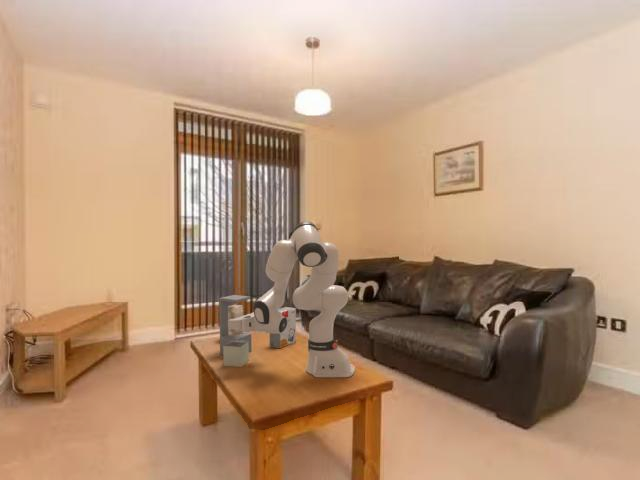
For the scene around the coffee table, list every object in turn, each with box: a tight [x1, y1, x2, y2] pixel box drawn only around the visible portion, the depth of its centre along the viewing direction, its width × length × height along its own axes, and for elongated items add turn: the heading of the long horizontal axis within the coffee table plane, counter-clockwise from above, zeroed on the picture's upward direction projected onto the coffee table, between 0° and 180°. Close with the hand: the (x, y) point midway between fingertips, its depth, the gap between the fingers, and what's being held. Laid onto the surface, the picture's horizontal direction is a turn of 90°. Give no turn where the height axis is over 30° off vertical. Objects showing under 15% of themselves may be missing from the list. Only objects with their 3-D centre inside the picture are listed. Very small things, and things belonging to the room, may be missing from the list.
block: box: [228, 304, 244, 336], centre depth 177 cm, size 5×5×14 cm
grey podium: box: [218, 294, 252, 356], centre depth 192 cm, size 12×11×30 cm
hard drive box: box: [269, 306, 297, 349], centre depth 206 cm, size 16×8×20 cm, turn 148°
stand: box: [223, 340, 250, 368], centre depth 177 cm, size 9×9×10 cm
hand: (234, 318), depth 177 cm, fingers closed on block, 5 cm apart
